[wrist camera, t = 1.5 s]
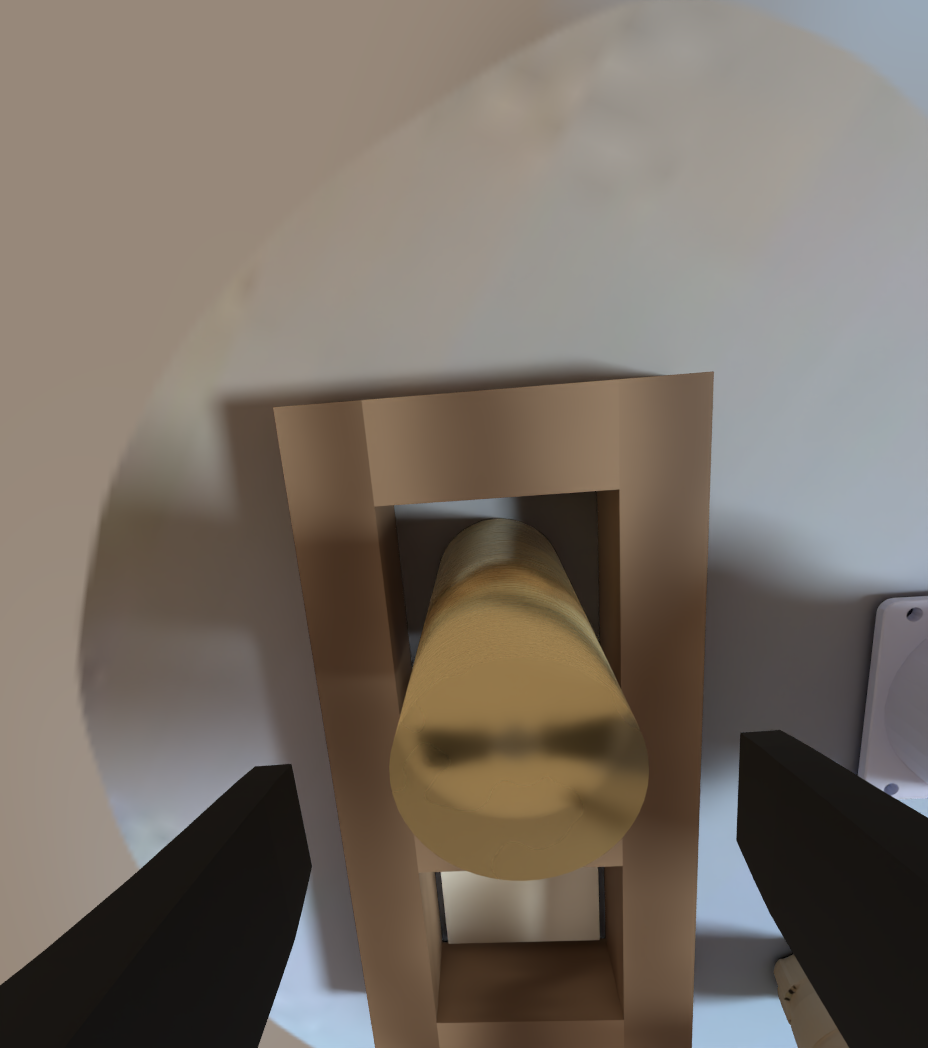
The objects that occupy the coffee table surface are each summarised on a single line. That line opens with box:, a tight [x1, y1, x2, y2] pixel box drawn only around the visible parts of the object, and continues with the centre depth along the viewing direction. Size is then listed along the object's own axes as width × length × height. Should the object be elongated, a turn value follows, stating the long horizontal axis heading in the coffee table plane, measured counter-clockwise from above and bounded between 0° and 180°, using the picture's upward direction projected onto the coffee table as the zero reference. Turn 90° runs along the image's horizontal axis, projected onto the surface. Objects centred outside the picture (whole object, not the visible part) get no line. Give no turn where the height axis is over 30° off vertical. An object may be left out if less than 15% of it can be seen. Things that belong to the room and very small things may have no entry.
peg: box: [389, 519, 649, 881], centre depth 14 cm, size 4×4×10 cm
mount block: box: [273, 372, 714, 1048], centre depth 19 cm, size 12×26×3 cm, turn 4°
